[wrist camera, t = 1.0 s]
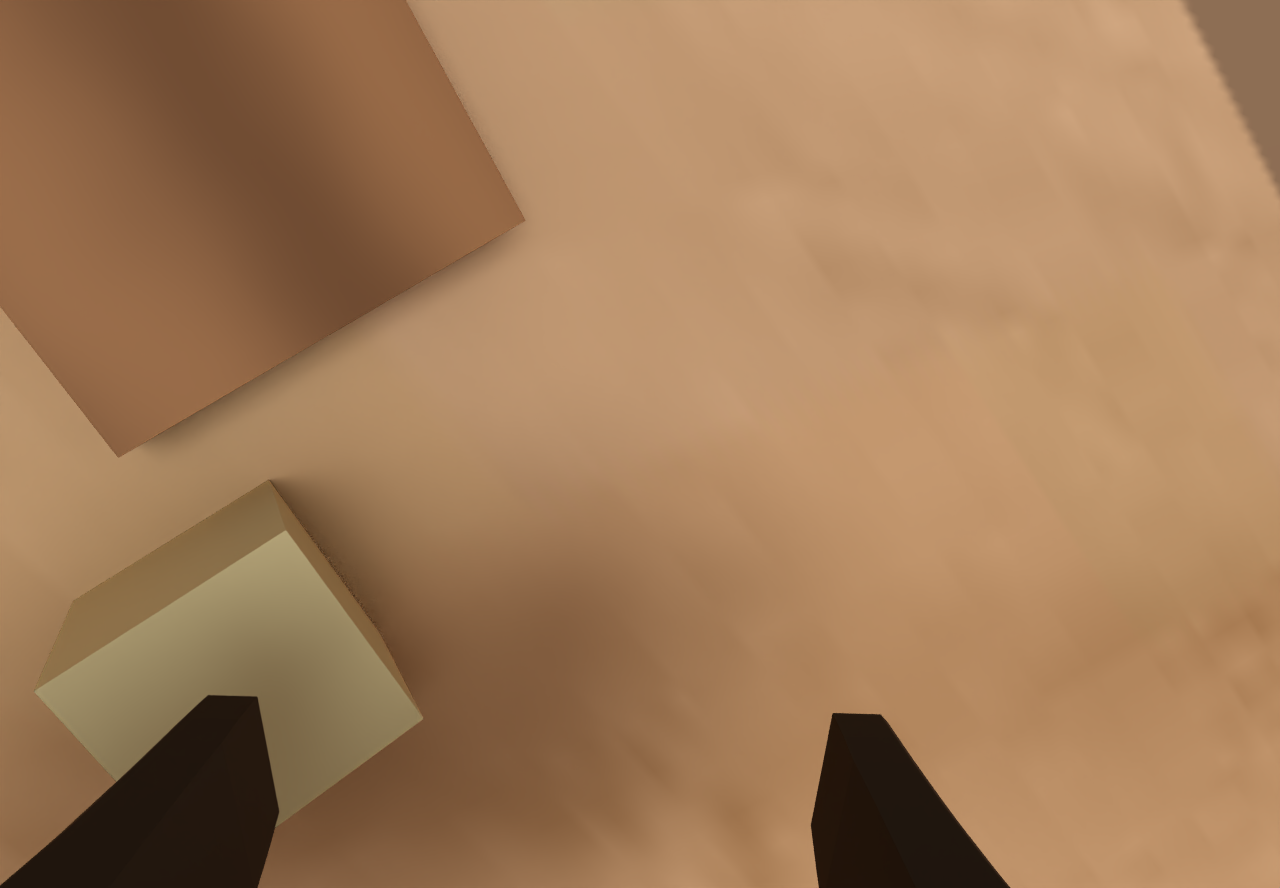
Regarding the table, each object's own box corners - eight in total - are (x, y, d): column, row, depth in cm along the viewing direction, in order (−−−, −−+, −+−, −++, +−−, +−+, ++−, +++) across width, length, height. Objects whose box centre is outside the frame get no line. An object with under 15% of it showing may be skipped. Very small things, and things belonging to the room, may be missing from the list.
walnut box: (130, 435, 20) (118, 457, 17) (-191, 17, 17) (-268, -37, 14) (486, 229, 22) (525, 220, 20) (263, -167, 19) (273, -242, 17)
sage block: (205, 754, 21) (205, 879, 16) (73, 599, 19) (34, 691, 15) (379, 633, 22) (423, 718, 18) (268, 479, 21) (286, 530, 16)
